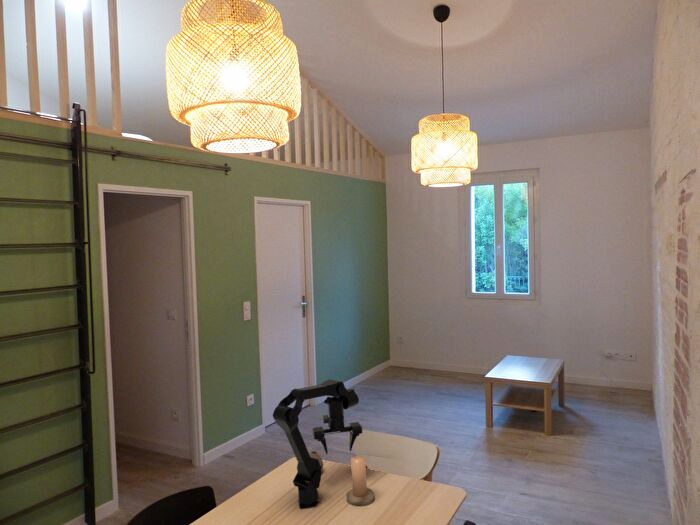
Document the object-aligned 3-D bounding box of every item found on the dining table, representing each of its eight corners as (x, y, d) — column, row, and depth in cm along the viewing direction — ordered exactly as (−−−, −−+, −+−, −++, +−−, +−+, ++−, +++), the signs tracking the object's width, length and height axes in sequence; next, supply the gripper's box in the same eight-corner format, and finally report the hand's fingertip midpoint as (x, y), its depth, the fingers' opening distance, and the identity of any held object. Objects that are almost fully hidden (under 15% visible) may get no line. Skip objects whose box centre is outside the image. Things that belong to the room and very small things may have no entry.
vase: (316, 478, 209) (314, 456, 209) (303, 474, 213) (301, 453, 213) (327, 471, 215) (325, 450, 214) (314, 467, 219) (313, 447, 218)
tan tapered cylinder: (355, 498, 187) (353, 463, 186) (351, 492, 192) (349, 457, 191) (369, 495, 188) (366, 460, 188) (364, 489, 193) (362, 455, 193)
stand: (349, 508, 184) (349, 502, 184) (344, 495, 194) (344, 489, 194) (377, 503, 186) (376, 498, 186) (370, 490, 196) (370, 485, 196)
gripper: (355, 403, 210) (357, 441, 211) (309, 409, 207) (311, 447, 207) (361, 412, 199) (363, 452, 200) (313, 418, 196) (315, 459, 196)
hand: (338, 452), depth 201 cm, fingers open, 9 cm apart
